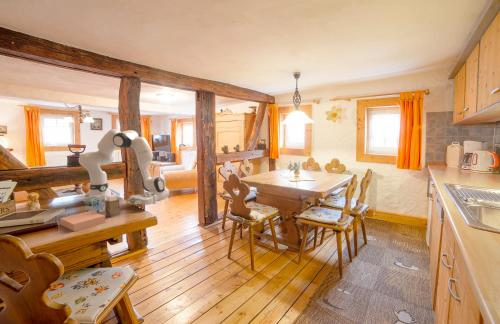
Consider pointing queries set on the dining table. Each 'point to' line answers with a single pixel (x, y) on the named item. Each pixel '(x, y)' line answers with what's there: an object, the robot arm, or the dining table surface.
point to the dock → (82, 220)
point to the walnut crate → (112, 208)
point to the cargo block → (111, 198)
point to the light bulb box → (95, 203)
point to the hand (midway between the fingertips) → (130, 202)
